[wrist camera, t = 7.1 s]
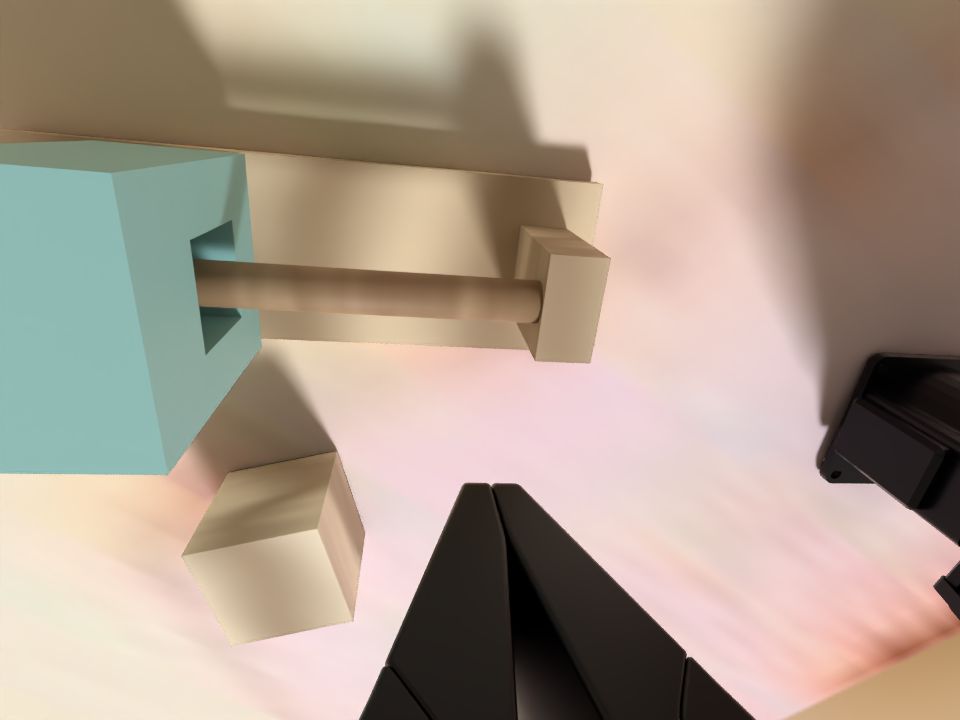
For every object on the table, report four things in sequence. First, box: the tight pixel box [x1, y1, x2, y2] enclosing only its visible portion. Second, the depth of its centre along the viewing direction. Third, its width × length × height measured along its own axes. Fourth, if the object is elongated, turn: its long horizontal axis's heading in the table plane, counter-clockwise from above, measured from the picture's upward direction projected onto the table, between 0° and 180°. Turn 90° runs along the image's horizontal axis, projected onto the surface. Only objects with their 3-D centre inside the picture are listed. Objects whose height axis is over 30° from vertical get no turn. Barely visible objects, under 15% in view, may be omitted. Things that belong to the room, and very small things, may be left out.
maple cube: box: [181, 451, 365, 646], centre depth 20 cm, size 4×4×4 cm
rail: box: [0, 129, 611, 363], centre depth 15 cm, size 18×6×5 cm, turn 85°
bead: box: [0, 140, 262, 475], centre depth 12 cm, size 4×6×7 cm, turn 175°
